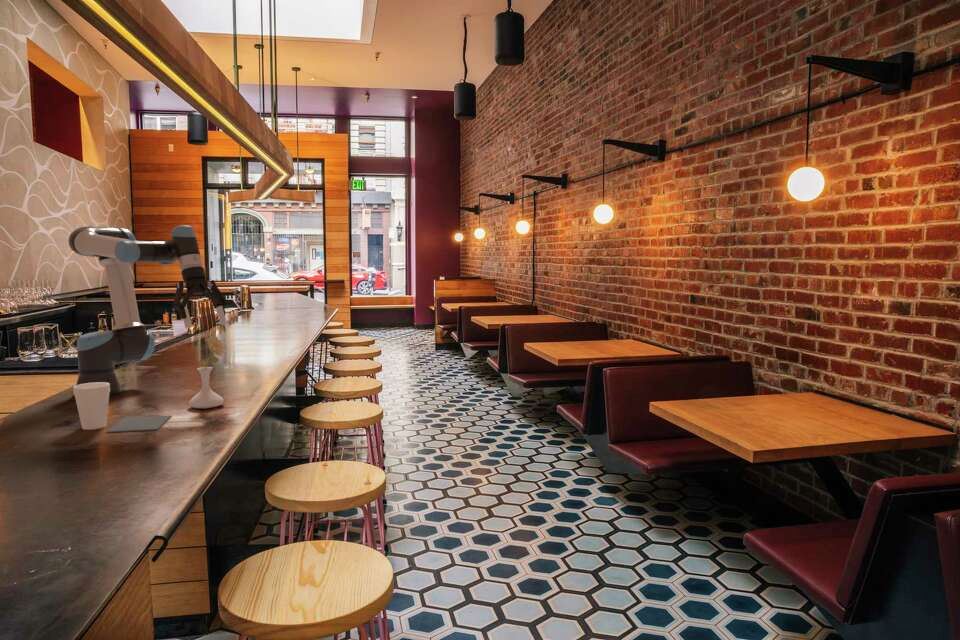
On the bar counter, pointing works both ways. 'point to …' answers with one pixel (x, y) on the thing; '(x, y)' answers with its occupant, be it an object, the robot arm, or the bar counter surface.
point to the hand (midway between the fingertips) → (206, 325)
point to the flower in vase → (206, 395)
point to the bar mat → (139, 424)
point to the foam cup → (92, 404)
